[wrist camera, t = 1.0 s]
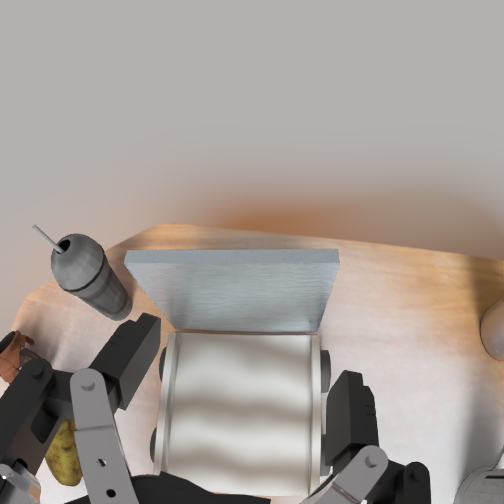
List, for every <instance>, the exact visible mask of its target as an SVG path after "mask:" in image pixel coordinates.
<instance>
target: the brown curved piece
mask: <svg viewBox="0 0 504 504" xmlns="http://www.w3.org/2000/svg"><path fill="white" fill-rule="evenodd" d="M25 342H27V343H29V344H30V345H32V344H34V341H33V340H32V339H31V338H29V337H28V336H25V335H21V334H20V332H19V331H18V330H17V331H15V332H14V331H12V332H11V333H9V334H8V335H7V336H6V337H5V338H4V339H3V340H2V341H1V342H0V377H2V378H3V379H4V381H5V382H9V384H11V382H12V381H13V380H14V378H15V377H16V376H17V374H18V373H19V371H20V370H19V368H20V366H21V367H23V366H24V365H25V363H26V362H28V361H29V360H31V359H34V358H41V357H40V356H39V355H37V354H36V353H34V352H32V351H31V350H29V349H27V348H23V349H22V350H21V347H25Z"/></svg>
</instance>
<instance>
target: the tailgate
mask: <svg viewBox="0 0 504 504" xmlns="http://www.w3.org/2000/svg"><path fill="white" fill-rule="evenodd" d="M339 264H340V261H339V253H338V249H227V250H127V253H126V256H125V259H124V265H125V266H126V267H127V269H128V270H129V272H130V273H131V274H132V276H133V277H134V278H135V279H136V281H137V282H138V283H139V285H140V286H141V287H142V289H143V290H144V291H145V292H146V294H147V295H148V296H149V297H150V299H151V300H152V301H153V302H154V304H155V305H156V306H157V307H158V309H159V310H160V311H161V312H162V314H163V315H164V316H165V317H166V318H167V320H168V321H169V322H170V323H171V324H172V326H173V327H174V328H175V329H190V330H209V331H238V332H317V330H318V327H319V325H320V322H321V319H322V316H323V313H324V310H325V307H326V304H327V301H328V298H329V295H330V292H331V289H332V286H333V283H334V280H335V277H336V274H337V270H338V267H339Z"/></svg>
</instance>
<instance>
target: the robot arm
mask: <svg viewBox="0 0 504 504" xmlns="http://www.w3.org/2000/svg"><path fill="white" fill-rule="evenodd" d="M160 331H161V319H160V318H158V317H156V316H153V315H150V314H147V313H145V312H144V313H142V315H141V316H140V317H139V319H138V320H137V321H136V322H135V321H132V320H128V321H126V322H125V323H123V324H121V325H120V326H119V327H118V328H117V330H116V331H115V332H114V334H113V335H112V336H111V338H110V339H109V341H108V342H107V343H106V344H105V346H104V347H103V348H102V350H101V351H100V352H99V354H98V355H97V357H96V358H95V359H94V361H93V362H92V363H91V365H90V366H89V367H88V368H84V369H80V370H78V371H76V372H75V373H69V372H64V371H59V370H54V369H52V366H51V364H50V363H49V362H48V361H47V360H45V359H42V358H34V359H31V360H29V361H28V362H26V363H25V365H24V366H23V367H22V369H21V370H20V371H19V373H18V374H17V376H16V377H15V378H14V380H13V381H12V382H11V384H10V385H9V387H8V388H7V390H6V391H5V392H4V394H3V395H2V397H1V398H0V504H40V494H41V486H40V483H39V481H38V479H37V478H36V477H35V475H36V473H37V471H38V469H39V467H40V465H41V463H42V461H43V459H44V457H45V455H46V453H47V451H48V449H49V447H50V445H51V443H52V441H53V439H54V437H55V436H56V434H57V432H58V430H59V428H60V426H61V424H62V423H63V421H64V419H65V418H67V419H71V420H75V425H76V430H75V431H74V435H75V441H76V446H77V451H78V456H79V461H80V465H81V469H82V473H83V477H84V481H85V485H86V488H87V492H88V495H86V496H84V497H81V498H78V499H76V500H73V501H70V502H67V503H64V504H270V502H271V499H266V498H260V497H255V496H250V495H245V494H214V493H211V492H209V491H207V490H205V489H203V488H202V487H200V486H198V485H196V484H194V483H192V482H191V481H189V480H187V479H184V478H181V477H178V476H175V475H172V474H169V473H166V472H163V471H160V474H159V475H149V474H147V475H138V476H133V477H132V475H131V472H130V469H129V466H128V463H127V460H126V457H125V454H124V451H123V448H122V444H121V441H120V437H119V434H118V430H117V426H116V422H115V418H114V414H115V412H116V410H117V408H120V409H123V410H125V411H126V409H127V407H128V405H129V403H130V401H131V400H132V398H133V396H134V394H135V392H136V390H137V389H138V387H139V385H140V383H141V381H142V380H143V378H144V376H145V374H146V372H147V371H148V369H149V367H150V365H151V363H152V362H153V360H154V358H155V356H156V354H157V352H158V350H159V346H160ZM481 338H482V341H483V344H484V346H485V348H486V350H487V352H488V353H489V354H490V355H491V356H492V357H493V358H495V359H496V360H499V361H504V296H503V297H502V298H501V299H500V300H498V301H497V302H496V303H495V304H494V305H493V306H492V307H490V308H489V309H488V310H487V311H486V312H485V314H484V315H483V318H482V321H481ZM325 466H333V472H332V473H331V474H330V475H329V476H328V477H327V478H326V479H325V480H324V481H323V482H322V483H321V484H320V485H319V486H318V487H317V488H316V489H315V490H314V491H313V492H312V493H311V494H310V495H309V496H308V497H307V498H305V499H304V500H303V501H302V502H301V503H299V504H360V503H361V502H362V500H363V499H365V500H367V504H431V489H430V475H429V471H428V469H427V467H426V466H425V465H424V464H422V463H420V462H411V463H409V464H408V465H406V466H404V465H402V464H399V463H396V462H393V461H391V460H389V459H388V457H387V455H386V453H385V452H384V451H383V450H382V449H381V448H380V447H379V440H378V429H377V419H376V410H375V401H374V395H373V394H372V392H371V390H370V388H369V386H363V378H362V374H361V373H358V372H352V371H347V370H344V371H343V372H342V374H341V375H340V376H339V378H338V379H337V381H336V382H335V384H334V385H333V387H332V388H331V390H330V391H329V394H328V397H327V405H326V445H325Z"/></svg>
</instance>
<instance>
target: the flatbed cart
mask: <svg viewBox="0 0 504 504" xmlns="http://www.w3.org/2000/svg"><path fill="white" fill-rule="evenodd" d="M159 374H160V379H161V382H162V386H161V395H160V403H159V412H158V422H157V427H156V428H155V430H154V431H153V434H152V437H151V442H150V456H151V459H152V462H153V463H154V470H153V475H159V474H160V471H163V472H166V473H169V474H172V475H175V476H178V477H181V478H184V479H187V480H189V481H191V482H192V483H194V484H196V485H198V486H200V487H202V488H203V489H205V490H207V491H211V492H220V493H230V494H245V495H263V496H298V495H308V496H309V495H310V494H311V493H312V492H313V491H314V490H315V489H316V488H317V487H318V486H319V483H320V476H327V475H328V474H329V472H330V467H331V466H325V445H326V434H324V435H321V393H325V392H328V391H329V387H330V379H331V363H330V355H329V352H328V350H320V338H319V336H317V335H225V334H202V333H185V332H175V333H170V332H169V336H168V343H167V346H166V347H165V348H164V349H163V351H162V354H161V357H160V363H159Z"/></svg>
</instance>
